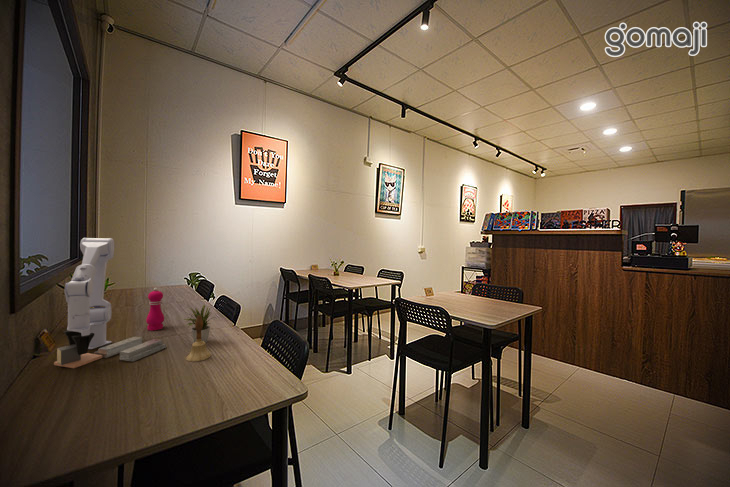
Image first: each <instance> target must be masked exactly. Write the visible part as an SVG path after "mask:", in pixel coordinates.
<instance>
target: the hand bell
mask: <svg viewBox="0 0 730 487" xmlns="http://www.w3.org/2000/svg"><path fill="white" fill-rule="evenodd" d="M195 319H196V318H195ZM194 327H195V328H196V332H197V336H196V337H197V338H196V342H195V343H194V342H193V343H192V344H191V350H190V353H189V354H188V355H187V356H186V357H185V360H186V361H187V362H192V363H193V362H194V363H195V362H202V361H206V360H207V359H209V358H210V357H212V354H211V352H209V351H208V349H207V345H206V343H205V342H203V341H201V331H202V327H203V320H202V317H201V314H200V315H199V316H197V319H196V322H195V324H194Z"/></svg>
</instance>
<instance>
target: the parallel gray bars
mask: <svg viewBox="0 0 730 487" xmlns="http://www.w3.org/2000/svg"><path fill="white" fill-rule="evenodd" d="M164 348H165V349H167V343H163V340H162V339H159V338H158V339H157V338H153V339H150V340H148V341H145V342H143V337H142V336H132V337H129V338H126V339H123V340H121V341H117V342H114V343H112V344H111V343H110V344H107V345H104V346H101V347H98V350H96V351H94V352H93V354H97V355H102V358H104V359H108V358H110V357H113V356H115V355H118V354H119V360H120V361H125V362H131V363H132V362H136V361H138V360H140V359H142V358H145V357H148V356H150V355H152V354H154V353H158V352H159V351H162V350H164Z"/></svg>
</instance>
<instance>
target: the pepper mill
mask: <svg viewBox="0 0 730 487" xmlns="http://www.w3.org/2000/svg"><path fill="white" fill-rule="evenodd" d="M147 298H148V300H149V302H148V303H149V311H148V314H147V316H146V318H145V321H146V324H147V328H146V330H147V331H151V332H152V331H159V330H161V329H163V328H164V324H163V322H164V321H165V315H164V313H163V311H162V308H161V304H162V302H163V301H162V299H163V298H164V293H163V292H162V291H160V290H159V288H158V287H154V288H153V291H151V292H149V293H148V295H147Z"/></svg>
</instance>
